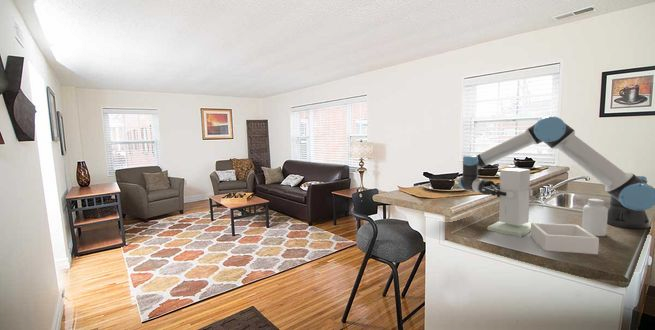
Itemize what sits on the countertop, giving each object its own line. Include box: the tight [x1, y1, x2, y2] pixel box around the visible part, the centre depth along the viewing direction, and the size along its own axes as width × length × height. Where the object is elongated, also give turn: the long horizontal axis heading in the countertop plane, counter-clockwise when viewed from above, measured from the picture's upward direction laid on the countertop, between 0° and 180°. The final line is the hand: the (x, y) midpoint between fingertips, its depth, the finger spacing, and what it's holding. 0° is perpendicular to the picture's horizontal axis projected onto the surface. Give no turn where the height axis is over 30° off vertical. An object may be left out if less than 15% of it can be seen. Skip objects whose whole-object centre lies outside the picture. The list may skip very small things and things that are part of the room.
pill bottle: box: [581, 198, 608, 237], centre depth 128 cm, size 8×8×15 cm
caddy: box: [530, 222, 600, 255], centre depth 118 cm, size 16×16×6 cm
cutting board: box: [487, 220, 538, 238], centre depth 140 cm, size 22×14×2 cm, turn 128°
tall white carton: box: [498, 167, 531, 226], centre depth 138 cm, size 9×9×25 cm
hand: (522, 194), depth 134 cm, fingers closed on tall white carton, 10 cm apart
